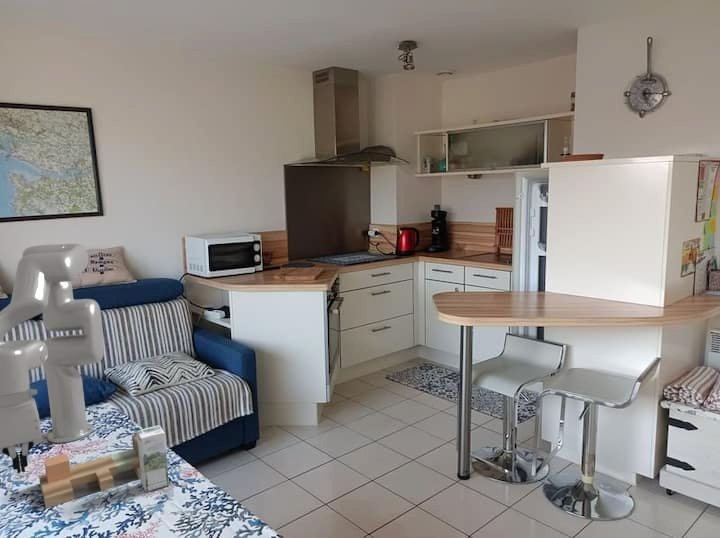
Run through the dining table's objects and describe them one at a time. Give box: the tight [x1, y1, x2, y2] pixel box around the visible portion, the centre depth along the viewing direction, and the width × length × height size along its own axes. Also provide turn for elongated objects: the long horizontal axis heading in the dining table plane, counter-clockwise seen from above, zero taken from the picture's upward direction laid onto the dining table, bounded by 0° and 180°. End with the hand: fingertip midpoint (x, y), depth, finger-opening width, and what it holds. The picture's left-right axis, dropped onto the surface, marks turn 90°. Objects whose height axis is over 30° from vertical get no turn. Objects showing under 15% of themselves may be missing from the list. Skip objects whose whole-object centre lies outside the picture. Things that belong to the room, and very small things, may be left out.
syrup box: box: [136, 425, 170, 493], centre depth 135 cm, size 6×6×14 cm
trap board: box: [38, 433, 141, 509], centre depth 140 cm, size 14×24×6 cm, turn 126°
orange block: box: [43, 453, 71, 484], centre depth 137 cm, size 5×5×4 cm
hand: (20, 470), depth 132 cm, fingers closed
